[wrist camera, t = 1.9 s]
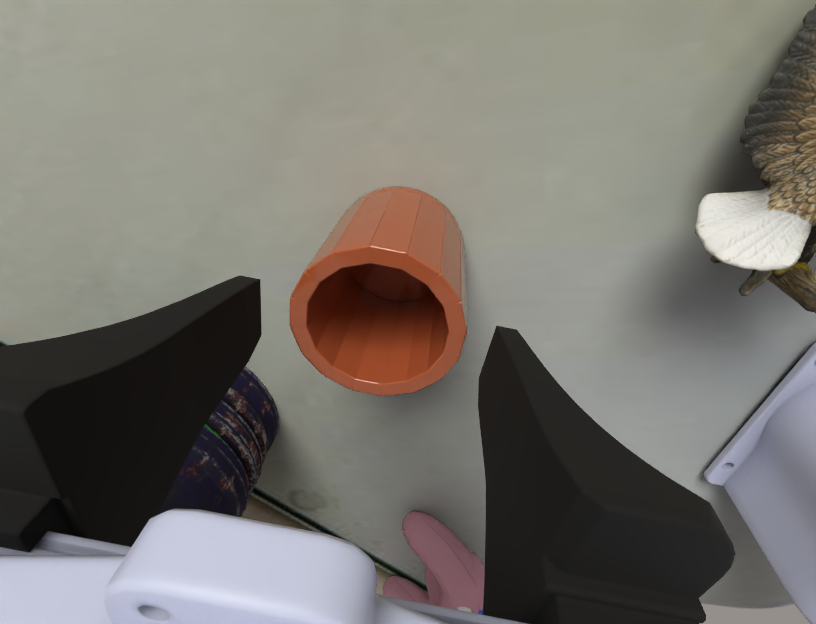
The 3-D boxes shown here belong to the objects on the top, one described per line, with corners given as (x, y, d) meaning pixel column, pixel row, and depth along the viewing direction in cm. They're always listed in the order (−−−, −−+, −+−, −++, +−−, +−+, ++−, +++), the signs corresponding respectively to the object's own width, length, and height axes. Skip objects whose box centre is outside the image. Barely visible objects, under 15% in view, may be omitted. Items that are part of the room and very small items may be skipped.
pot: (448, 315, 20) (444, 409, 14) (332, 292, 20) (288, 378, 14) (478, 200, 17) (486, 268, 12) (342, 174, 17) (290, 229, 12)
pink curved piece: (432, 567, 34) (473, 673, 28) (377, 584, 32) (410, 701, 27) (463, 492, 28) (520, 605, 23) (399, 508, 27) (446, 634, 21)
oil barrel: (106, 428, 26) (-217, 780, 14) (111, 306, 21) (-397, 688, 9) (261, 482, 28) (94, 848, 15) (300, 379, 23) (99, 803, 10)
